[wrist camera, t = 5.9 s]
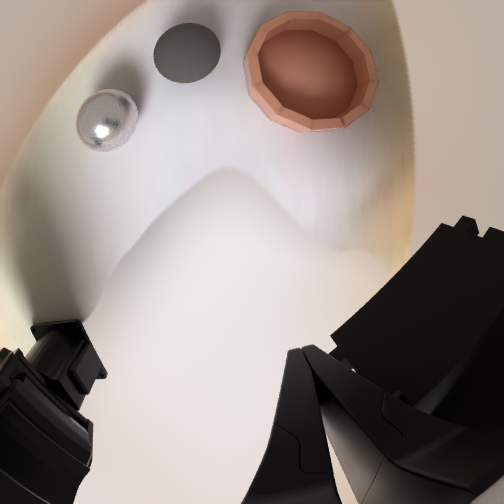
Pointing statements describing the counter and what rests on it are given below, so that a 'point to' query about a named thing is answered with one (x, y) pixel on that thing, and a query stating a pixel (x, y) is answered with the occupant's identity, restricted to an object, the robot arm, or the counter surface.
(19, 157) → the counter surface
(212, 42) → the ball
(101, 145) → the steel ball
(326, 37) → the dish
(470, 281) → the toy
